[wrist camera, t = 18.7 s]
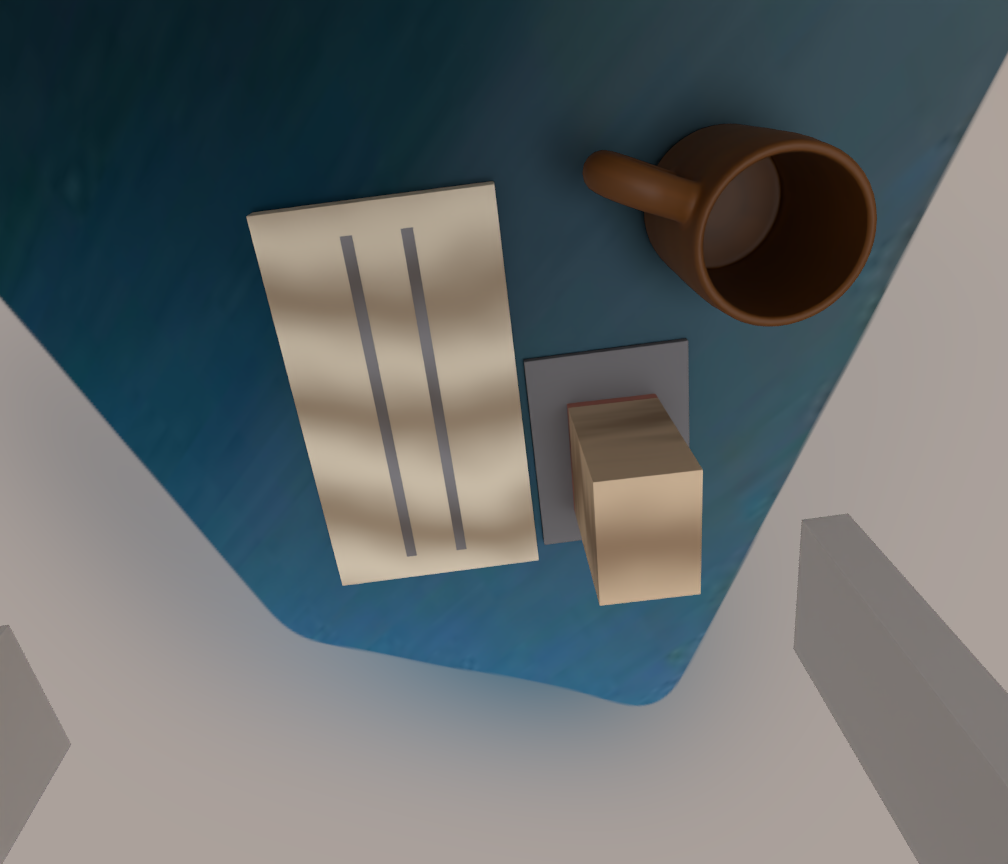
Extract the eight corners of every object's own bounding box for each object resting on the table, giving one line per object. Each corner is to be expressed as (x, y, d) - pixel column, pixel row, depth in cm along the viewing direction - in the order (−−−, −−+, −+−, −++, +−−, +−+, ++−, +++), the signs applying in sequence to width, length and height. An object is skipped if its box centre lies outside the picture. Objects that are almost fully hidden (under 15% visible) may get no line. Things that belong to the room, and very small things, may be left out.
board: (252, 212, 37) (246, 216, 36) (493, 181, 37) (494, 184, 36) (345, 573, 47) (342, 586, 45) (536, 548, 46) (538, 560, 45)
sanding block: (566, 403, 42) (593, 482, 34) (655, 393, 42) (702, 469, 34) (574, 509, 45) (599, 605, 37) (656, 500, 45) (700, 593, 37)
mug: (537, 226, 38) (560, 269, 30) (590, 68, 35) (632, 65, 27) (747, 294, 40) (824, 352, 32) (814, 150, 37) (919, 173, 29)
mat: (523, 359, 41) (524, 362, 41) (686, 338, 41) (688, 340, 41) (544, 541, 46) (544, 544, 46) (688, 522, 46) (690, 525, 46)
